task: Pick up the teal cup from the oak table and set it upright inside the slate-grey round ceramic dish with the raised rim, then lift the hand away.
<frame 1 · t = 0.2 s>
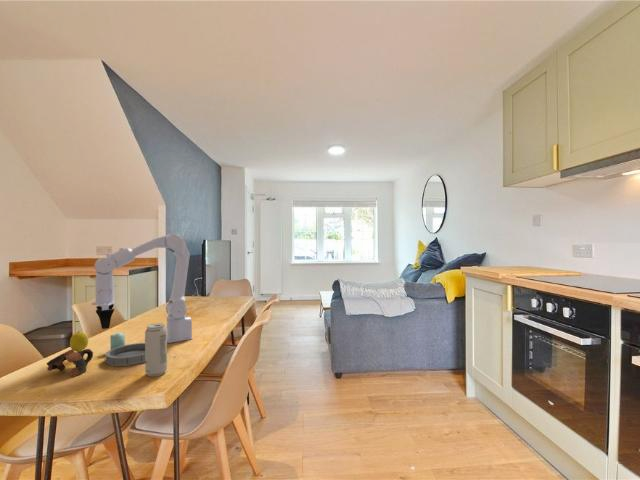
hand: (105, 326, 123), 10 cm above the table, tool pointing down, fingers open, 7 cm apart
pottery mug: (72, 373, 104), on the table
lemon: (79, 353, 122), on the table
teal cup: (117, 350, 124), on the table
tray: (132, 357, 116), on the table
energy drink can: (156, 374, 102), on the table
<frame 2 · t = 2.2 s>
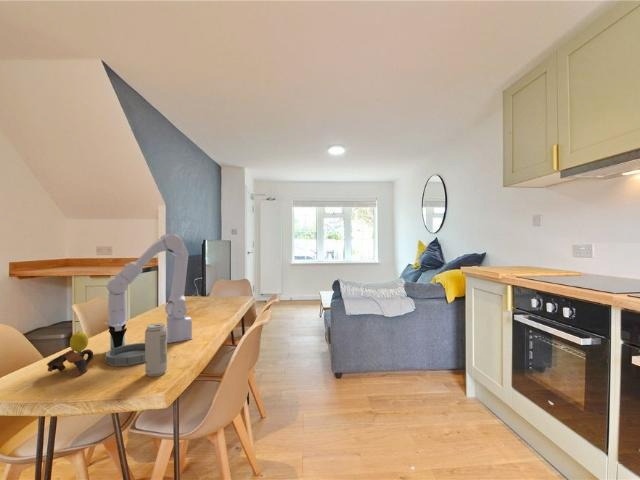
hand: (117, 345, 124), 2 cm above the table, tool pointing down, fingers closed on teal cup, 5 cm apart
teal cup: (117, 350, 124), on the table, touching gripper
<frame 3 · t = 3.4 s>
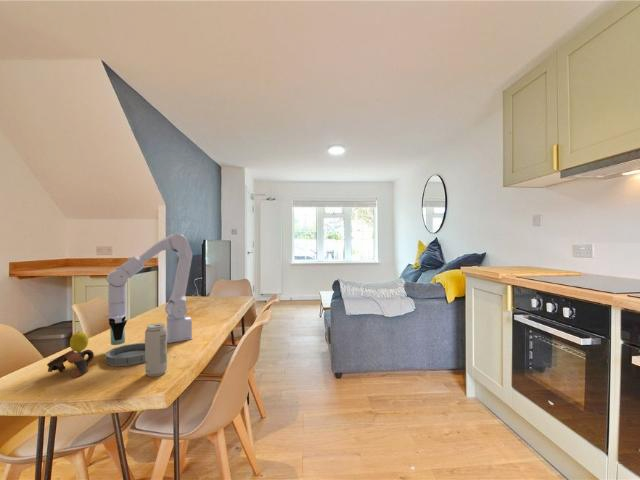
hand: (117, 338, 124), 5 cm above the table, tool pointing down, fingers closed on teal cup, 5 cm apart
teal cup: (117, 343, 124), point 3 cm above the table, touching gripper
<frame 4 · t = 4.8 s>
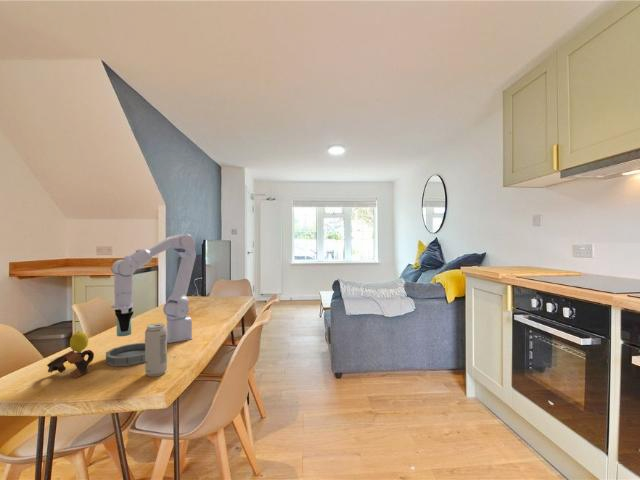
hand: (124, 329, 120), 9 cm above the table, tool pointing down, fingers closed on teal cup, 5 cm apart
teal cup: (124, 334, 120), point 7 cm above the table, touching gripper
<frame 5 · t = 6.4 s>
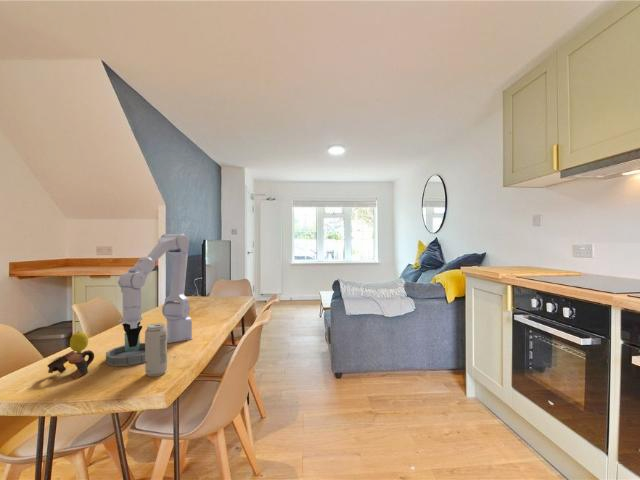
hand: (132, 344, 116), 5 cm above the table, tool pointing down, fingers closed on teal cup, 5 cm apart
teal cup: (132, 349, 116), point 3 cm above the table, touching gripper
when the fingers open (3 cm above the table, at t = 7.6 s): teal cup stays where it is, resting on tray.
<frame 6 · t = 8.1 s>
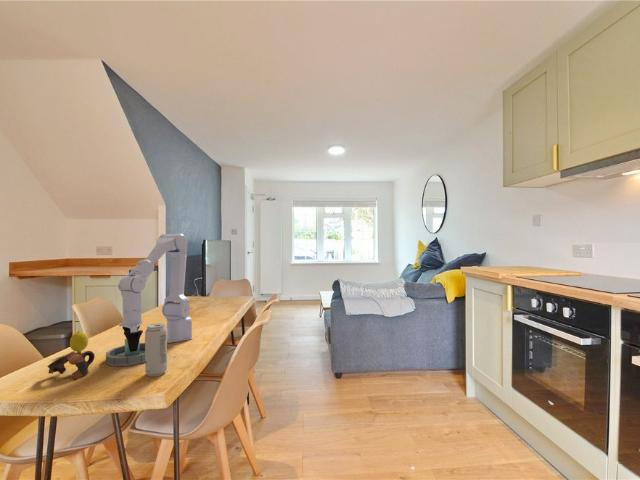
hand: (132, 348, 116), 3 cm above the table, tool pointing down, fingers open, 7 cm apart
teal cup: (132, 355, 116), point 1 cm above the table, touching tray
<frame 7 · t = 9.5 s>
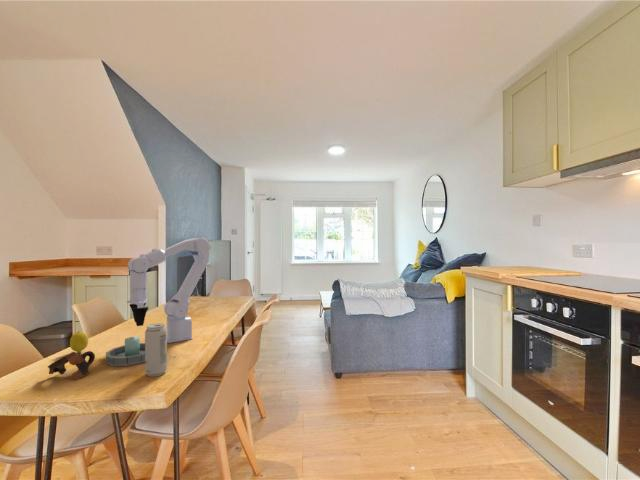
hand: (138, 323, 127), 9 cm above the table, tool pointing down, fingers open, 7 cm apart
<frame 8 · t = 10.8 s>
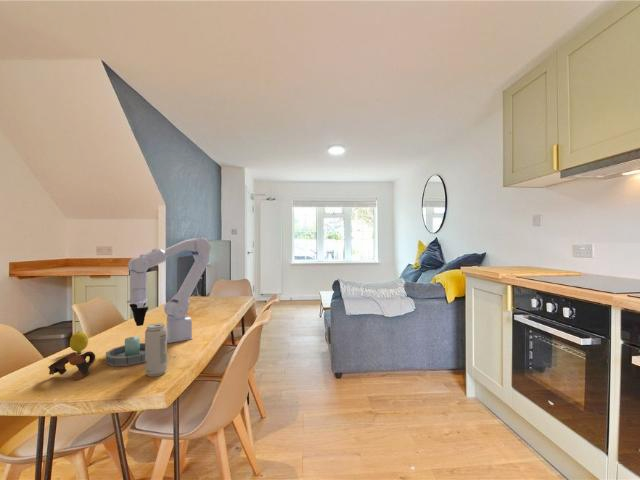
hand: (138, 323, 127), 9 cm above the table, tool pointing down, fingers open, 7 cm apart
at the end: teal cup inside the target area on the tray (0.0 cm from its centre), point 0.8 cm above the tray's base; the gripper is holding nothing; teal cup tilted 0° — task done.
